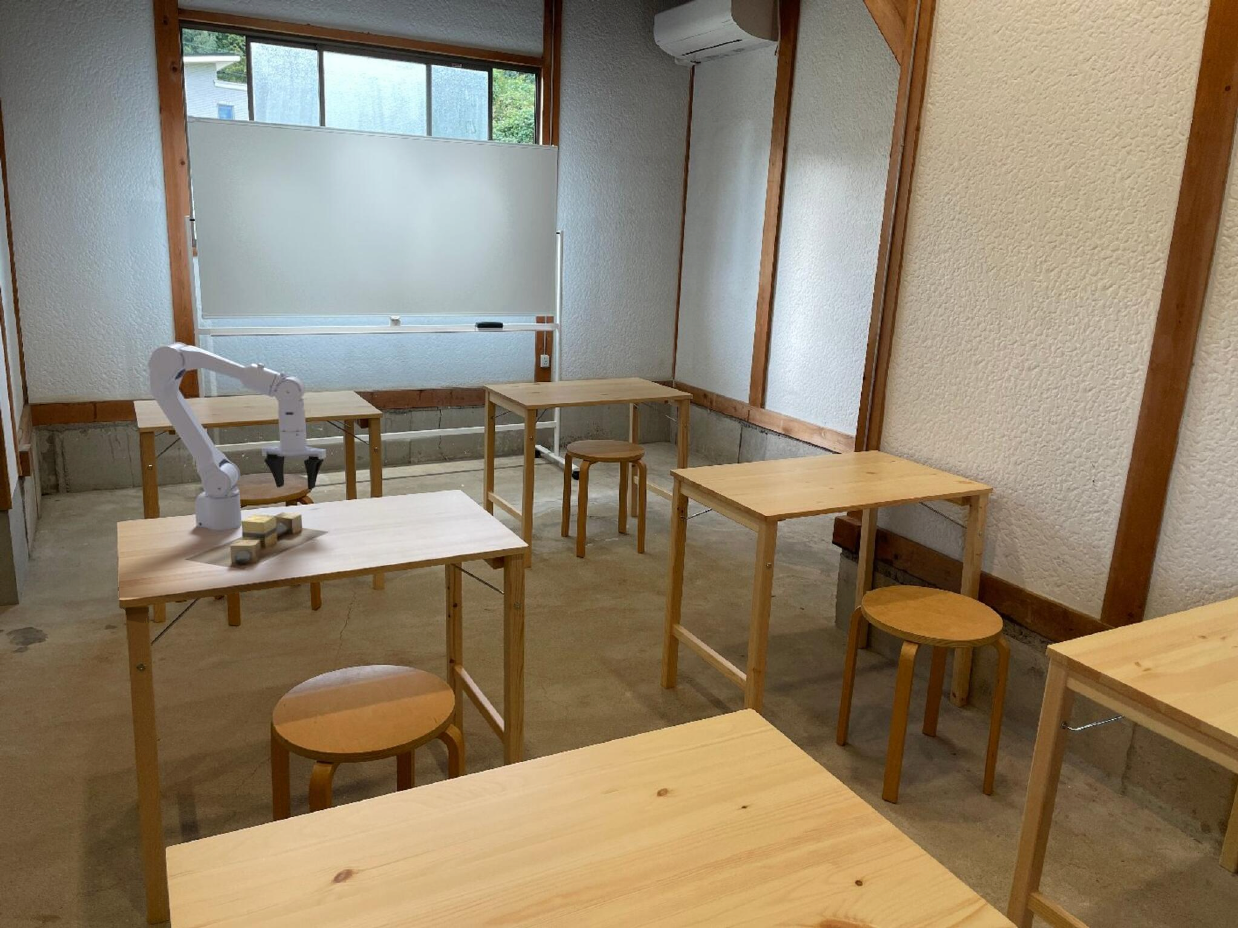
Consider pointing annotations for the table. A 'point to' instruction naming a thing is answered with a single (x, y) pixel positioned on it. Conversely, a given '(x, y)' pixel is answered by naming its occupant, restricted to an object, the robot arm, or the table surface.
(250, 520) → the tan wooden block
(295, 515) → the shaft
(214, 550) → the board
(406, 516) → the table surface
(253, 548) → the shaft
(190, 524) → the table surface
